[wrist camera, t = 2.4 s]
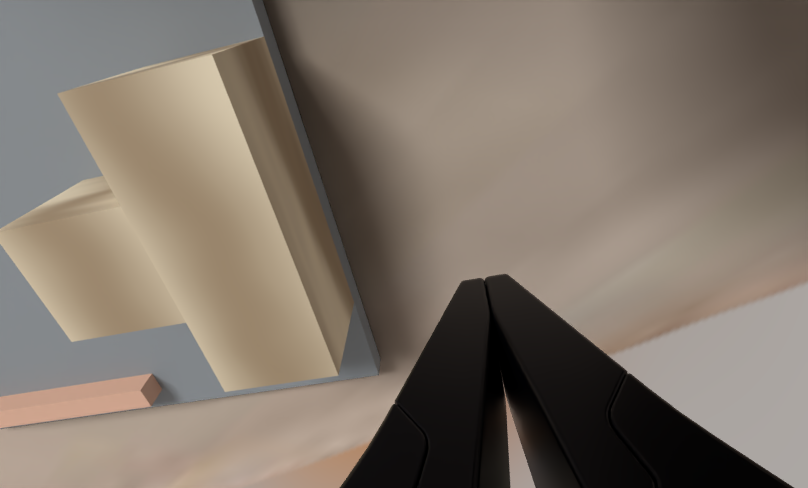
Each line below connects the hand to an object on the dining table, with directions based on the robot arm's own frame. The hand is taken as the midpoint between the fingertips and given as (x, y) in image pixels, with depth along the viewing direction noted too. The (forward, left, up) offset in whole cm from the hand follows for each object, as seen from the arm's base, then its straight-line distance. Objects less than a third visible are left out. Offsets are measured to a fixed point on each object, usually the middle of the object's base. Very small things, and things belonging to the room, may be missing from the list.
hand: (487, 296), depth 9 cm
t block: (+9, 0, -8) cm, 12 cm away
